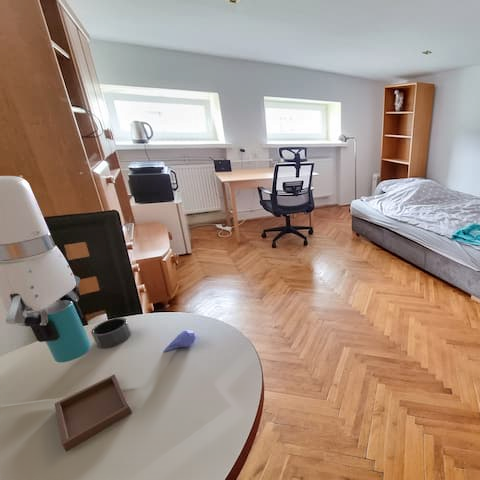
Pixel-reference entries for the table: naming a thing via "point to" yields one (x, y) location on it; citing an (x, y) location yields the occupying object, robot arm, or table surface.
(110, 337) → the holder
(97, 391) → the tray
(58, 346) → the can
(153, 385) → the table surface
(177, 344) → the blue teardrop shape
